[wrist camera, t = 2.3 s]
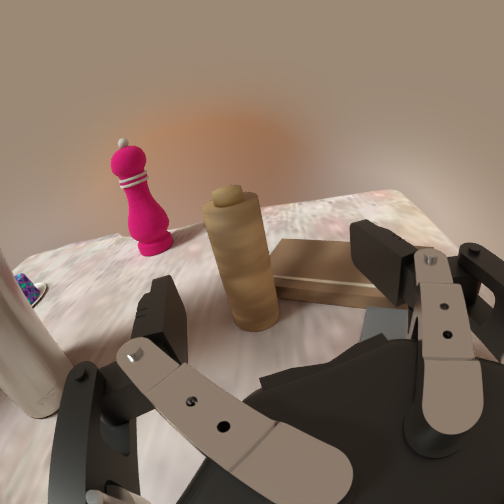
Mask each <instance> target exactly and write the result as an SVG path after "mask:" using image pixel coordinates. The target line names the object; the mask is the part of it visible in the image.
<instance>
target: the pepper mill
mask: <svg viewBox="0 0 504 504" xmlns="http://www.w3.org/2000/svg"><path fill="white" fill-rule="evenodd" d="M118 146H119V148H121V149H120V150H118V151H117V152H116V153H115V154H114V155H113V157H112V159H111V169H112V172H113V173H114V174H115V175H116V176H118V177H119V178H120V180H119V183H120V185H121V186H120V187H121V188H123V189H124V191H125V193H126V195H127V199H128V204H129V216H128V227H129V232H130V235H131V237H132V238H134V239H135V240H137V241H139V243H138V248H139V250H140V253H141V254H142V255H143V256H153V255H156V254H159V253H162V252H164V251H165V250H167V249H168V248H169V247H170V246H171V245H172V244H173V239H172V237H171V234H170V232H168V231H166V230H167V228H168V225H169V219H168V217H167V214H166V213H165V211H164V210H163V208H162V207H161V206H160V205H159V204H158V203H157V202H156V201H155V200H154V198H153V197H152V195H151V193H150V191H149V188H148V184H147V179H148V176H147V174H146V173H147V171H145V170H144V166H145V164H146V156H145V153H144V152H143V150H142V149H141V148H139V147H136V146H128V141H127V139H125V138H122V139H120V140H119V141H118Z"/></svg>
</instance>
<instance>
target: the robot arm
mask: <svg viewBox="0 0 504 504" xmlns="http://www.w3.org/2000/svg"><path fill="white" fill-rule="evenodd" d="M350 246H351V258H352V261H353V264H354V266H355V267H356V268H357V269H358V270H359V271H360V272H361V273H362V274H363V275H364V276H365V277H366V278H367V279H368V280H369V281H370V282H371V283H372V284H373V285H374V286H375V287H376V288H377V289H378V290H379V291H380V292H381V293H382V294H383V295H384V296H385V297H386V298H387V299H388V300H389V301H390V302H391V303H392V304H393V305H394V306H395V307H398V306H401V305H403V304H405V303H407V304H408V306H407V318H406V339H392V340H388V339H387V338H386V337H385V336H384V334H383V333H380V334H378V335H375V336H373V337H371V338H369V339H366V340H364V341H362V342H359V343H357V344H355V345H354V346H352V347H351V348H349V349H348V350H346V351H345V352H344V353H342V354H341V355H339V356H338V357H336V358H335V359H333V360H332V361H330V362H328V363H324V364H318V365H311V366H304V367H296V368H290V369H287V370H284V371H281V372H278V373H275V374H272V375H268V376H265V377H261V378H259V379H260V383H261V386H262V388H260V389H258V390H256V391H255V392H253V393H252V394H250V395H249V396H248V397H246V398H245V399H244V400H243V401H240V400H238V399H237V398H235V397H234V396H232V395H231V394H229V393H228V392H226V391H225V390H223V389H222V388H220V387H219V386H217V385H216V384H215V383H213V382H212V381H210V380H209V379H207V378H206V377H205V376H203V375H202V374H200V373H199V372H198V371H196V370H195V369H194V368H192V367H191V366H190V365H188V348H187V317H186V312H185V308H184V305H183V303H182V300H181V298H180V296H179V293H178V291H177V289H176V286H175V284H174V282H173V279H172V277H171V276H170V275H167V276H164V277H160V278H157V279H153V281H152V286H151V291H150V293H146V294H144V296H143V297H142V298H141V300H140V301H139V303H138V307H137V312H136V316H135V318H136V319H135V321H134V326H133V330H132V335H131V340H129V341H128V342H126V343H125V344H123V345H122V346H121V348H120V349H119V350H118V352H117V355H116V361H115V362H113V363H111V364H109V365H107V366H105V367H103V368H100V369H98V368H97V367H96V365H95V364H94V363H92V362H89V361H86V362H81V363H79V364H77V365H76V366H75V367H74V366H73V364H72V363H71V362H70V360H69V359H68V358H67V357H66V355H65V354H64V353H63V351H62V350H61V349H60V347H59V346H58V345H57V343H56V342H55V341H54V339H53V338H52V336H51V335H50V334H49V332H48V331H47V329H46V328H45V326H44V325H43V323H42V322H41V320H40V319H39V317H38V316H37V314H36V313H35V311H34V310H33V308H32V306H31V305H30V303H29V302H28V300H27V298H26V297H25V295H24V293H23V291H22V290H21V288H20V286H19V284H18V283H17V281H16V279H15V277H14V275H13V273H12V271H11V269H10V267H9V266H8V264H7V261H6V259H5V257H4V256H3V253H2V251H1V249H0V389H1V390H2V391H3V392H4V393H5V394H6V395H7V396H8V397H9V398H10V399H11V400H12V401H13V402H14V403H15V404H16V405H17V406H18V407H19V408H21V409H22V410H23V411H24V412H25V413H26V414H27V415H28V416H30V417H33V418H43V417H46V416H49V415H51V414H52V413H54V412H55V411H57V410H58V409H59V412H58V417H57V422H56V428H55V433H54V440H53V447H52V454H51V463H50V473H49V487H48V504H151V503H150V502H149V501H148V500H147V499H145V498H143V497H141V495H140V485H139V473H138V458H137V428H136V417H138V416H140V415H142V414H145V413H147V412H149V411H151V410H153V409H156V410H157V412H158V413H159V414H160V415H161V416H162V417H163V418H164V419H165V420H166V421H167V422H168V423H169V424H170V425H171V426H172V427H173V428H174V429H175V430H176V431H177V432H178V433H180V434H181V435H182V436H183V437H184V438H185V439H186V440H187V441H188V442H189V443H190V444H191V445H192V446H193V447H195V448H196V449H197V450H198V451H199V452H200V453H201V454H203V455H204V456H205V457H206V458H205V460H204V461H203V463H202V465H201V466H200V468H199V469H198V471H197V473H196V474H195V476H194V477H193V479H192V480H191V482H190V483H189V485H188V486H187V488H186V489H185V491H184V493H183V494H182V496H181V497H180V498H179V500H178V501H177V503H176V504H504V261H503V260H501V259H500V258H498V257H497V256H496V255H494V254H493V253H491V252H490V251H489V250H487V249H486V248H484V247H483V246H481V245H479V244H476V243H464V244H462V245H461V246H460V248H459V254H458V256H453V257H446V255H445V254H444V253H442V252H441V251H439V250H436V249H431V248H425V249H420V250H419V249H417V248H416V247H414V246H413V245H411V244H410V243H408V242H407V241H405V240H404V239H402V238H401V237H399V236H398V235H396V234H395V233H393V232H392V231H390V230H389V229H385V228H382V227H379V226H377V225H375V224H374V223H372V222H370V221H369V220H367V219H365V220H361V221H358V222H354V223H351V225H350ZM481 283H483V284H484V285H485V286H486V287H487V288H489V289H490V290H491V291H492V292H493V294H494V296H495V305H494V308H492V307H491V306H490V305H489V304H487V303H486V302H485V301H484V300H483V299H482V298H481V297H480V296H479V295H478V293H479V290H480V286H481ZM470 329H471V330H470ZM471 331H472V332H473V333H474V334H475V335H476V336H477V337H478V338H479V339H480V340H481V342H482V343H483V344H484V345H485V346H486V347H487V348H488V349H489V351H490V352H491V353H492V354H493V355H494V356H495V358H496V359H497V360H498V361H499V362H500V363H498V362H494V361H490V360H486V359H482V358H478V357H475V356H474V350H473V342H472V336H471Z"/></svg>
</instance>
